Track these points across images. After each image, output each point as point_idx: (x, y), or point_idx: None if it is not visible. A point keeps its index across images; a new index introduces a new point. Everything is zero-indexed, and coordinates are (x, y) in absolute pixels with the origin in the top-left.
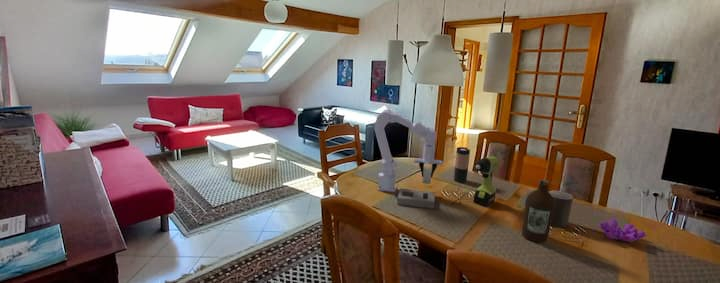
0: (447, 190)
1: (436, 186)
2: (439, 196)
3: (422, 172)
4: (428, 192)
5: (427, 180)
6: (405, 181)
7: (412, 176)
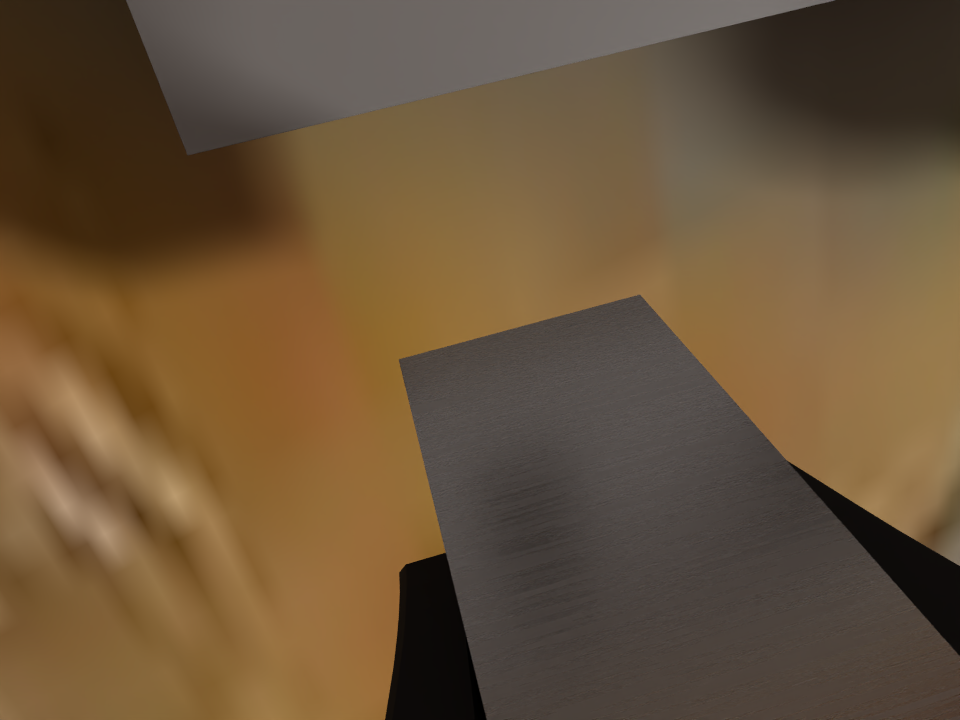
0: (123, 606)
1: (362, 635)
2: (140, 284)
3: (915, 576)
4: (353, 43)
5: (528, 397)
6: None
7: None
